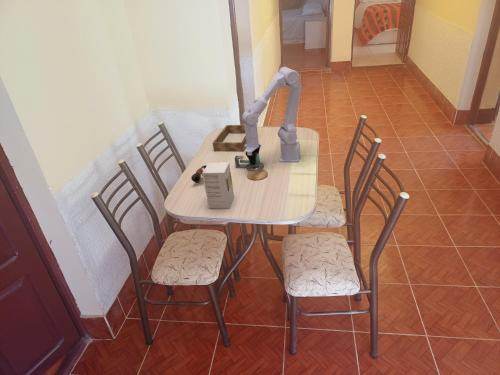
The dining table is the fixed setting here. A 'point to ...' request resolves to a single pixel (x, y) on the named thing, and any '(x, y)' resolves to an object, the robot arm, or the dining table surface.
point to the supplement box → (218, 185)
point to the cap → (249, 161)
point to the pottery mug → (198, 174)
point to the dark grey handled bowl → (248, 166)
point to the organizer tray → (230, 146)
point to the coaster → (257, 174)
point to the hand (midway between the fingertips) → (254, 162)
